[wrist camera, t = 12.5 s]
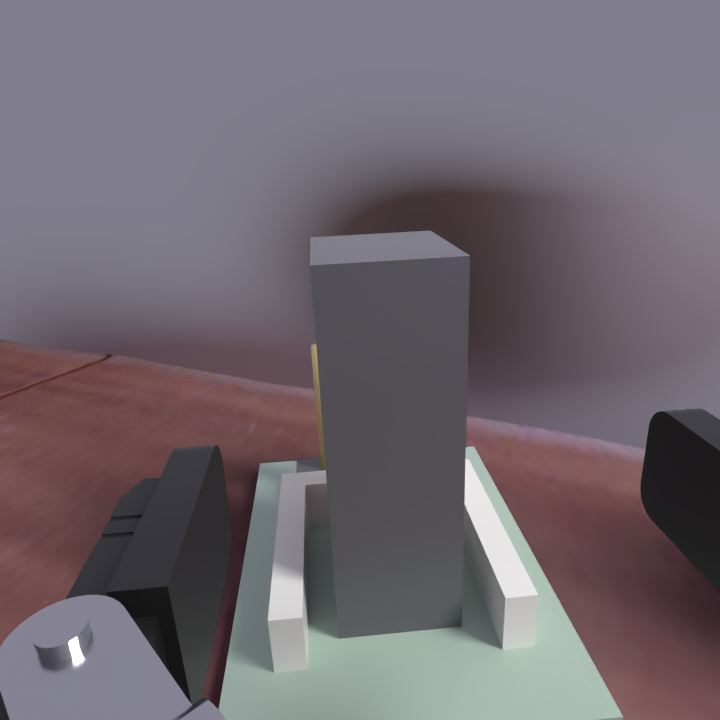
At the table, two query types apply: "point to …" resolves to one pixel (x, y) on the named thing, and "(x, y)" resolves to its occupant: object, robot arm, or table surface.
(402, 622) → the block
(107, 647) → the robot arm
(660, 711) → the table surface
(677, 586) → the table surface
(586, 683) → the header board
